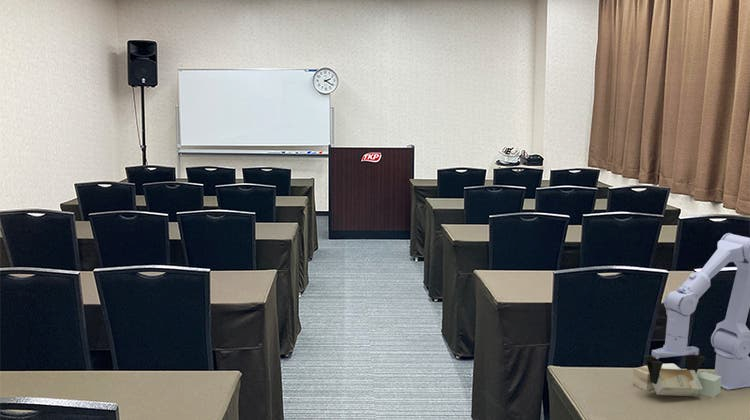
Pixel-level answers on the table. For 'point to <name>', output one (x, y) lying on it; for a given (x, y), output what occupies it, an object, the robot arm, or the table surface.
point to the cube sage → (709, 384)
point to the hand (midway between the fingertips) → (672, 380)
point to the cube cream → (669, 366)
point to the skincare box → (677, 383)
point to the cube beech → (642, 378)
